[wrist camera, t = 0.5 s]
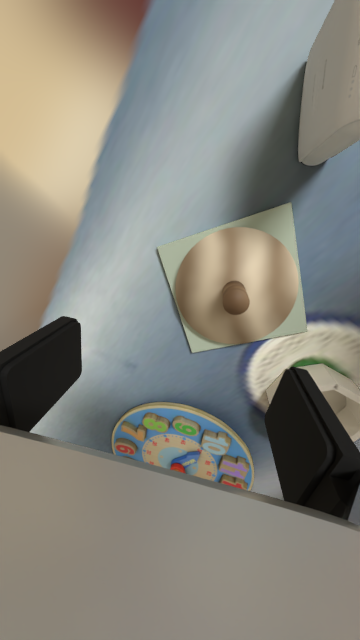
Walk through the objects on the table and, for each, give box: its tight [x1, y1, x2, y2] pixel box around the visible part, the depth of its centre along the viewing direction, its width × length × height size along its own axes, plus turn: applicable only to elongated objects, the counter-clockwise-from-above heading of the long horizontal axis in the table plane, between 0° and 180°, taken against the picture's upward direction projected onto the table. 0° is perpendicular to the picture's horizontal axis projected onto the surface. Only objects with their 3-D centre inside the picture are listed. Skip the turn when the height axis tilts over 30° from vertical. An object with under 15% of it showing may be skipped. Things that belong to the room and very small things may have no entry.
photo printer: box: [298, 0, 360, 166], centre depth 18 cm, size 10×4×12 cm, turn 5°
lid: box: [175, 227, 299, 344], centre depth 30 cm, size 17×17×6 cm
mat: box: [157, 202, 307, 353], centre depth 32 cm, size 18×18×1 cm
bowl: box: [266, 363, 360, 442], centre depth 36 cm, size 13×13×5 cm
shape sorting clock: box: [112, 402, 254, 491], centre depth 46 cm, size 31×30×6 cm
